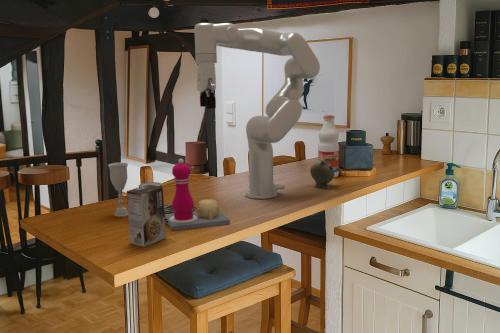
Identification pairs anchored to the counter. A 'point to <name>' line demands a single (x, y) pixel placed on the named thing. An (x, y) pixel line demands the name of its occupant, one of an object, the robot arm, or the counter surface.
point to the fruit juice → (329, 144)
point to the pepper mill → (182, 192)
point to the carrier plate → (200, 217)
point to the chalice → (119, 183)
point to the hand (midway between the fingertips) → (207, 107)
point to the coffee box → (146, 215)
